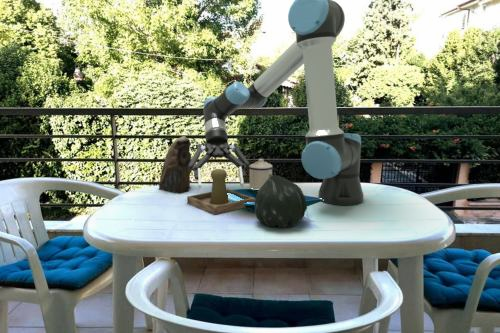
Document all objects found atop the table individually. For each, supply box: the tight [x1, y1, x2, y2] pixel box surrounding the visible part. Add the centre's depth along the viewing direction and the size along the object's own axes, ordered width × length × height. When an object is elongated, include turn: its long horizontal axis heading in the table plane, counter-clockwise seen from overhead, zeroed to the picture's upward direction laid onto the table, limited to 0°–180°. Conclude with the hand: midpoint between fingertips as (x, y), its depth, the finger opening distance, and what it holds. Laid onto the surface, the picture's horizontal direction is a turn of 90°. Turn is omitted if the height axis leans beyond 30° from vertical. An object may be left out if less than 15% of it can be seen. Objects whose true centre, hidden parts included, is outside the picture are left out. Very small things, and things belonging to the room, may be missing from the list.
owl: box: [158, 135, 192, 194], centre depth 145 cm, size 13×13×20 cm
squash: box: [254, 174, 308, 229], centre depth 108 cm, size 14×15×15 cm
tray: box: [186, 188, 256, 216], centre depth 127 cm, size 16×16×2 cm
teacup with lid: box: [248, 158, 274, 189], centre depth 148 cm, size 12×9×12 cm
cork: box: [210, 168, 228, 205], centre depth 126 cm, size 6×6×11 cm
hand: (221, 186), depth 124 cm, fingers open, 13 cm apart
